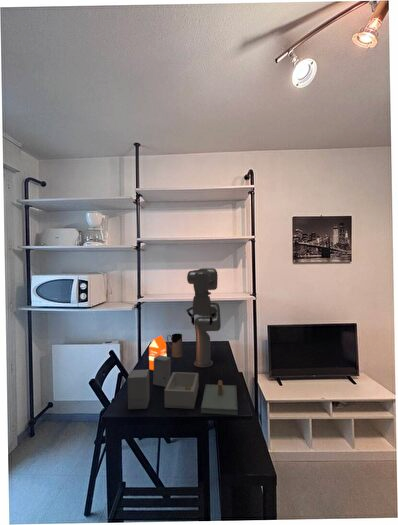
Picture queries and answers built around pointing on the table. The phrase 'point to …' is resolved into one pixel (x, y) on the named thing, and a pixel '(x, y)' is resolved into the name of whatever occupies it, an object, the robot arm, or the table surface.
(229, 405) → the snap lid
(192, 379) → the parts tub
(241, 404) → the table surface
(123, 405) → the table surface
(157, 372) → the skincare box
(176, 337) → the brown pitcher
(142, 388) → the supplement box
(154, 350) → the orange juice
